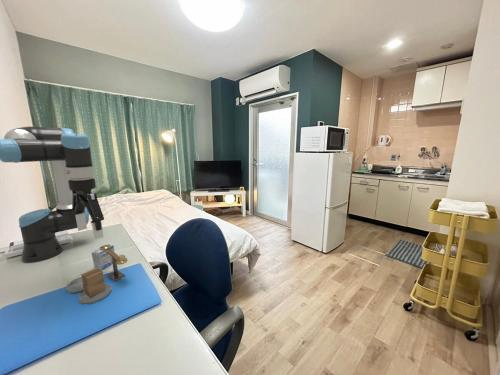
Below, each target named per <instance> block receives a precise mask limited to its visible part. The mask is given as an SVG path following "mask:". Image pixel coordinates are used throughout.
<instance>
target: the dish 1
mask: <svg viewBox="0 0 500 375" xmlns="http://www.w3.org/2000/svg"><path fill="white" fill-rule="evenodd" d="M65 289H66V292H67V293H68V294H81V293H82V292H83V291H84V288H83V282H82V277H81V276H79V277H77V278H75V279H73V280H72V281H70V282H69V283H67V285H66V287H65Z"/></svg>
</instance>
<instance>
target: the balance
mask: <svg viewBox="0 0 500 375" xmlns="http://www.w3.org/2000/svg"><path fill="white" fill-rule="evenodd" d="M111 245H112V244H103V245H102V246H100V247H99V248H100V250H105V251H106V252H107V253H108V254H109V255H110V256H111V257H112V264H111V265H112V270H113V272H111V273H109V274H107V278H109V279H110V280H112V281H114V282H117V281H119V280H121V279H123V278H125V277H126V274H125V273H123V272H121V271H120V270H119V268H118V265H119V266H120V265H123V264H126V263H127V262H128V258H127V257H126V255H124V254H123V253H122V254H119V255H118V254H117V253H116V251H114V252H113V251H112V250H111V249H110V248H111Z"/></svg>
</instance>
